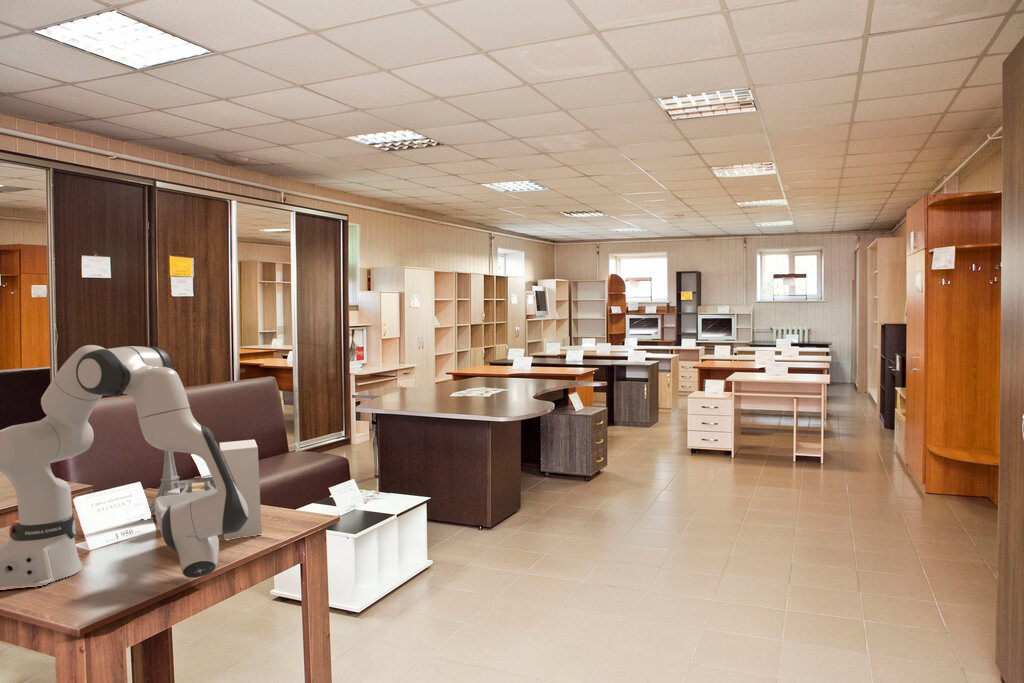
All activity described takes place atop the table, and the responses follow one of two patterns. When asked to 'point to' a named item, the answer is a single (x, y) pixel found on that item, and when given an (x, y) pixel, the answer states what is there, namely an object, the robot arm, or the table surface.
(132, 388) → the robot arm
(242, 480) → the tall stand
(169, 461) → the eiffel tower
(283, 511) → the table surface
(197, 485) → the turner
